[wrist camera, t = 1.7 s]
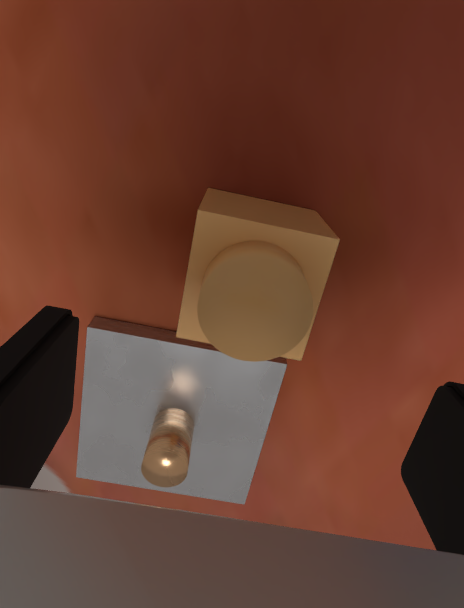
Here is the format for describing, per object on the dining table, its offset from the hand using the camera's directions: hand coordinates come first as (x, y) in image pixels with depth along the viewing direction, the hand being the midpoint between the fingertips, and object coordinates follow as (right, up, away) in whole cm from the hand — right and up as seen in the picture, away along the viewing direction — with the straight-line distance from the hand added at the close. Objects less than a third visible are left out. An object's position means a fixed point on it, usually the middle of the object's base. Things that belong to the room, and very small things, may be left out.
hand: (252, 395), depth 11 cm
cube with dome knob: (0, +5, +9) cm, 10 cm away
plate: (-4, -4, +13) cm, 14 cm away
